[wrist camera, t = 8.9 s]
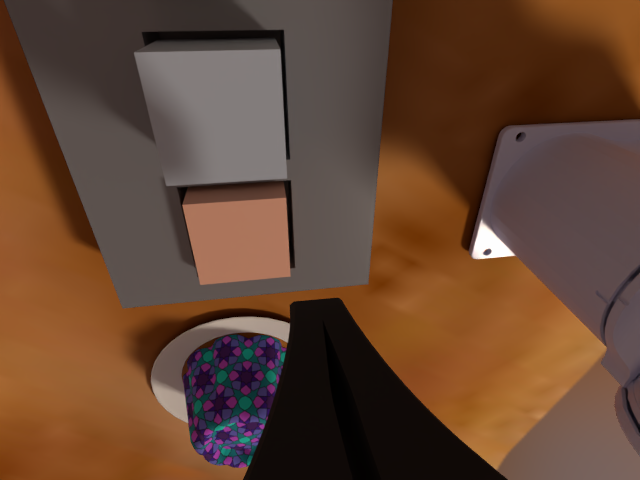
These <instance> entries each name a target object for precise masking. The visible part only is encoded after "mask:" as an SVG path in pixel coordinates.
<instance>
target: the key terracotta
mask: <svg viewBox="0 0 640 480" xmlns="http://www.w3.org/2000/svg"><path fill="white" fill-rule="evenodd" d="M182 206H183V210H184V214H185V219H186V223H187V228H188V232H189V237H190V241H191V246H192V250H193V255H194V259H195V263H196V268H197V272H198V277H199V281H200V285H206V284H216V283H227V282H237V281H248V280H259V279H269V278H280V277H291V275H290V257H289V240H288V222H287V204H286V194H285V188H284V182H283V181H270V182H254V183H239V184H223V185H207V186H191V187H188V189H187V192H186V195H185V198H184V201H183V204H182Z"/></svg>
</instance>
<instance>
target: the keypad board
mask: <svg viewBox="0 0 640 480" xmlns="http://www.w3.org/2000/svg"><path fill="white" fill-rule="evenodd" d="M4 2H5V5H6V7H7V10H8V12H9V15H10V18H11V20H12V23H13V25H14V28H15V31H16V33H17V36H18V38H19V41H20V44H21V46H22V49H23V51H24V54H25V56H26V59H27V62H28V64H29V67H30V69H31V72H32V75H33V77H34V80H35V82H36V85H37V88H38V90H39V93H40V95H41V98H42V101H43V103H44V106H45V108H46V111H47V113H48V116H49V119H50V121H51V124H52V126H53V129H54V132H55V134H56V137H57V139H58V142H59V145H60V147H61V150H62V152H63V155H64V158H65V160H66V163H67V165H68V168H69V170H70V173H71V176H72V178H73V181H74V183H75V186H76V189H77V191H78V194H79V196H80V199H81V202H82V204H83V207H84V209H85V212H86V214H87V217H88V220H89V222H90V225H91V227H92V230H93V233H94V235H95V238H96V240H97V243H98V246H99V248H100V251H101V253H102V256H103V259H104V261H105V264H106V266H107V269H108V271H109V274H110V277H111V279H112V282H113V284H114V287H115V290H116V292H117V295H118V297H119V300H120V303H121V305H122V308H131V307H141V306H151V305H161V304H172V303H182V302H192V301H202V300H212V299H222V298H232V297H242V296H252V295H262V294H272V293H283V292H293V291H303V290H313V289H323V288H333V287H343V286H353V285H363V284H368V279H369V268H370V256H371V245H372V233H373V222H374V210H375V199H376V187H377V176H378V164H379V153H380V141H381V130H382V118H383V107H384V95H385V84H386V72H387V61H388V49H389V38H390V26H391V15H392V3H393V0H4ZM228 38H275V39H276V41H277V43H278V45H279V47H280V51H281V70H282V89H283V108H284V127H285V146H286V165H287V179H272V180H256V181H240V182H224V183H208V184H192V185H176V186H166V183H165V178H164V174H163V170H162V166H161V162H160V158H159V154H158V150H157V146H156V141H155V137H154V133H153V129H152V125H151V121H150V117H149V113H148V109H147V105H146V100H145V96H144V92H143V88H142V84H141V80H140V76H139V72H138V68H137V63H136V59H135V55H134V52H136V51H137V50H139V49H141V48H143V47H145V46H147V45H149V44H151V43H153V42H154V41H156V40H171V39H228ZM270 181H283V182H284V188H285V194H286V204H287V222H288V240H289V257H290V275H291V277H280V278H269V279H259V280H248V281H237V282H227V283H216V284H206V285H200V281H199V277H198V272H197V268H196V263H195V259H194V255H193V250H192V246H191V241H190V237H189V232H188V228H187V223H186V219H185V214H184V210H183V206H182V204H183V201H184V198H185V195H186V192H187V189H188V187H191V186H207V185H223V184H239V183H254V182H270Z"/></svg>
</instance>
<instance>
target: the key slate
mask: <svg viewBox="0 0 640 480" xmlns="http://www.w3.org/2000/svg"><path fill="white" fill-rule="evenodd" d="M134 55H135V59H136V63H137V68H138V72H139V76H140V80H141V84H142V88H143V92H144V96H145V100H146V105H147V109H148V113H149V117H150V121H151V125H152V129H153V133H154V137H155V141H156V146H157V150H158V154H159V158H160V162H161V166H162V170H163V174H164V178H165V183H166V186H176V185H192V184H208V183H224V182H240V181H256V180H272V179H287V165H286V146H285V127H284V108H283V89H282V70H281V51H280V47H279V45H278V43H277V41H276V39H275V38H228V39H171V40H156V41H154V42H153V43H151V44H149V45H147V46H145V47H143V48H141V49H139V50H137V51H136V52H134Z"/></svg>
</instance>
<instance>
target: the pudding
mask: <svg viewBox="0 0 640 480" xmlns="http://www.w3.org/2000/svg"><path fill="white" fill-rule="evenodd" d="M289 331H290V324H289V323H286V322H284V321H279V320H275V319H270V318H262V317H232V318H226V319H220V320H215V321H212V322H209V323H205V324H202V325H199V326H197V327H195V328H193V329H190V330H188V331H186V332H184V333H183V334H181V335H180V336H178V337H177V338H175V339H174V340H172V341H171V342H170V343H169V344H168V345H167V346H166V347H165V348H164V349H163V350H162V351H161V353H160V354H159V356H158V357H157V359H156V360H155V363H154V366H153V368H152V371H151V385H152V389H153V393H154V394H155V396H156V398H157V400H158V402H159V403H160V404H161V405H162V406H163V407H164V408H165V409H166V410H167V411H168V412H170V413H171V414H172V415H173V416H175V417H177V418H179V419H181V420H182V421H184V422H186V423H188V424H189V432H190V440H191V443H192V445H193V447H194V449H195V450H196V452H197V453H199V454H200V455H204V458H205V460H207V461H208V462H210V463H211V464H215V465H229V466H231V467H237V468H241V467H247V466H249V465H250V462H251V460H252V457H253V455H254V452H255V450H256V447H257V445H258V442H259V440H260V437H261V434H262V432H263V429H264V426H265V423H266V421H267V418H268V415H269V412H270V409H271V406H272V403H273V399H274V396H275V392H276V389H277V385H278V382H279V378H280V375H281V371H282V367H283V363H284V358H285V353H286V348H282V346H281V343H280V341H279V340H278V339H276V338H274V337H277V338H280V339H282V340H284V341H286V342H287V343H288V338H289ZM244 332H252V333H262V334H267V335H272V336H274V337H271V336H266V335H258V336H255V337H252V338H249V339H248V338H246V337H243V336H240V335H228V334H234V333H244ZM224 335H226V336H224ZM220 336H224V337H221V338H219V339H216V341H215V342H214V344H213V345H212V347H210V348H203V349H198V350H197V351H195V352H194V353H192V352H193V351H194V350H195V349H197V348H198V347H199V346H201V345H202V344H204V343H206V342H208V341H210V340H212V339H214V338H217V337H220ZM191 353H192V354H191ZM190 354H191V355H190ZM189 355H190V357H189ZM188 357H189V359H188V361H187V364H188V372H187V373H186V374H185V375H184V376H183V381H182V368H183V366H184V363H185V361H186V360H187V358H188Z"/></svg>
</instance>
